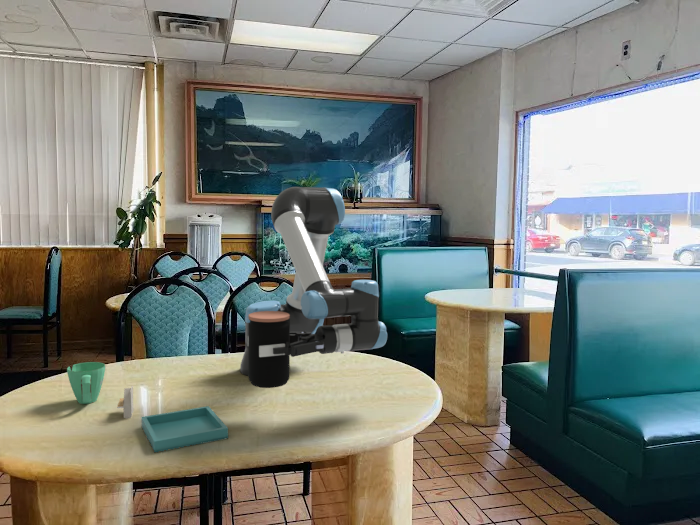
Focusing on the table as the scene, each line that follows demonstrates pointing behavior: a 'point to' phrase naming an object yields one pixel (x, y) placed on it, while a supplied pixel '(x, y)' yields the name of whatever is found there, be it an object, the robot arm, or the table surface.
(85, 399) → the mug
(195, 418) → the tray
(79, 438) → the table surface
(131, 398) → the architectural model
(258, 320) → the coffee jar
